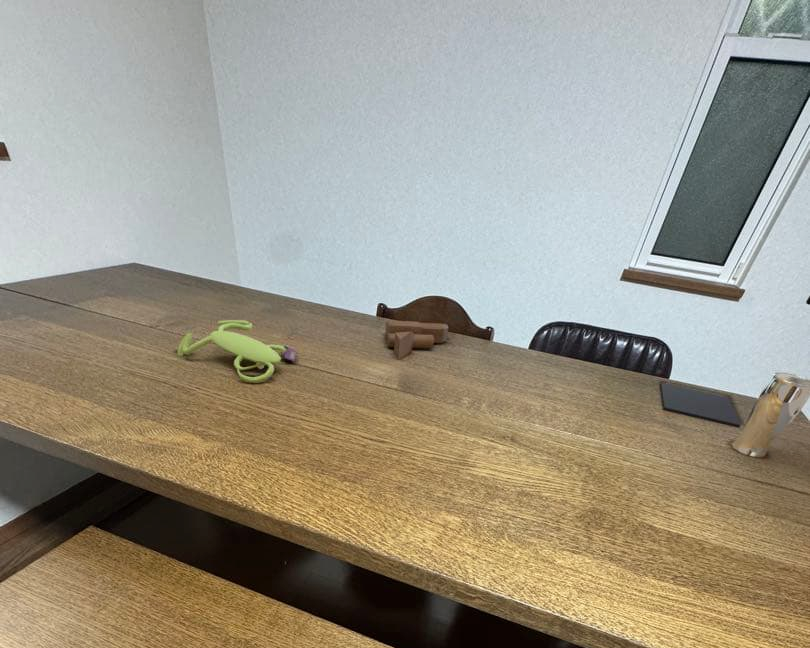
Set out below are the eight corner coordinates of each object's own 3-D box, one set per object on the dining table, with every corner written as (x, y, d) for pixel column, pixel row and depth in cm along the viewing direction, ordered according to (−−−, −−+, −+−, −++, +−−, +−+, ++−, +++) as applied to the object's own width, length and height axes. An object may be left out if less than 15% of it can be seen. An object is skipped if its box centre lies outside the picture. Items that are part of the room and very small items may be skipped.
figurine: (235, 336, 113) (232, 312, 109) (316, 366, 103) (315, 340, 99) (169, 352, 100) (163, 326, 97) (253, 388, 90) (250, 359, 87)
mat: (727, 399, 113) (728, 397, 112) (739, 427, 100) (740, 425, 99) (660, 384, 116) (661, 382, 116) (663, 409, 103) (664, 407, 103)
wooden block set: (383, 315, 120) (447, 318, 124) (381, 338, 124) (444, 340, 128) (395, 335, 107) (466, 338, 112) (393, 359, 111) (462, 361, 115)
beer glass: (728, 441, 93) (773, 369, 84) (766, 453, 91) (817, 380, 81) (724, 453, 89) (772, 378, 79) (764, 466, 86) (818, 390, 76)
